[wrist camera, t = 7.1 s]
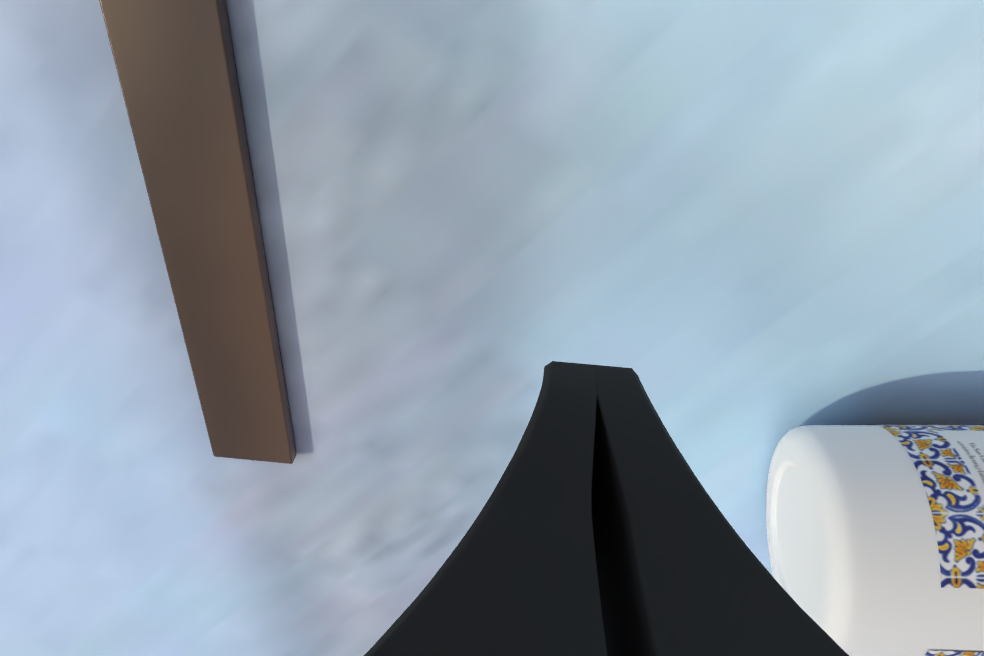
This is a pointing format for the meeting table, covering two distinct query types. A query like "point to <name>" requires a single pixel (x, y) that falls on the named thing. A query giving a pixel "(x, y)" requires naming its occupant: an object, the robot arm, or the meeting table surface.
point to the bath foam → (882, 535)
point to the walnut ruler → (205, 213)
